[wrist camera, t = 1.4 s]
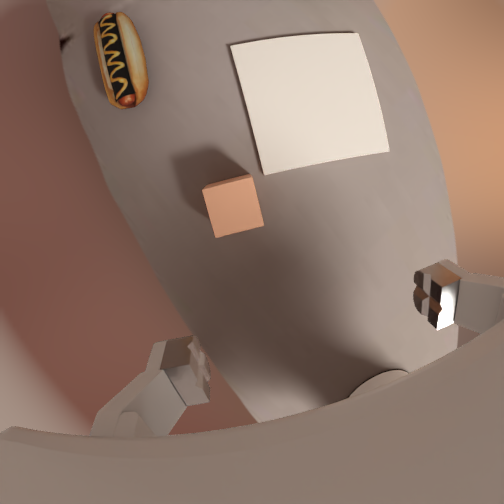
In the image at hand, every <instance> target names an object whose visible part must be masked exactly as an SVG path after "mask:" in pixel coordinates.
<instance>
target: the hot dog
mask: <svg viewBox="0 0 504 504" xmlns="http://www.w3.org/2000/svg"><path fill="white" fill-rule="evenodd" d="M94 40H95V45H96V51H97V56H98V60H99V65H100V70H101V74H102V78H103V83H104V87H105V90H106V93H107V96H108V99H109V102H110V103H111V104H112V105H114V106H116V107H118V108H120V109H126V108H132V107H135V106H137V105H138V104H139V103H140V102H142V101H143V100H144V98H145V96H146V93H147V89H148V82H149V81H148V74H147V67H146V60H145V56H144V52H143V48H142V45H141V41H140V38H139V36H138V33H137V31H136V29H135V26H134V24H133V22H132V21H131V20H130V18H129V17H127V16H126V15H125V14H124V13H122V12H117V13H116V14H114V13H106V14H104V15H103V16H102V18H101V19H100V21H99V22H97V23H96V24H95V26H94Z"/></svg>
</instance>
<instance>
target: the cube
mask: <svg viewBox="0 0 504 504" xmlns="http://www.w3.org/2000/svg"><path fill="white" fill-rule="evenodd" d="M202 192H203V196H204V199H205V203H206V206H207V210H208V213H209V217H210V220H211V224H212V227H213V231H214V234H215V238H218V237H222V236H225V235H229V234H233V233H237V232H241V231H245V230H249V229H253V228H257V227H261V226H264V223H263V218H262V214H261V210H260V206H259V202H258V198H257V194H256V190H255V186H254V182H253V178H252V176H251V175H250V174H247V175H243V176H239V177H235V178H231V179H227V180H224V181H220V182H216V183H212V184H209V185H206V186H205V187H204V188H203V189H202Z"/></svg>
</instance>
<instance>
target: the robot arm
mask: <svg viewBox="0 0 504 504" xmlns="http://www.w3.org/2000/svg"><path fill="white" fill-rule="evenodd" d="M414 283H415V284H416V285H417V286H416V288H415V290H414V292H413V300H414V304H415V307H416V309H417V310H418V312H419V313H420V314H422V315H425V316H428V322H429V323H430V324H432V325H433V326H434V327H435V328H436V329H437V330H438V329H440V328H443V327H445V326H447V325H449V324H451V323H453V322H454V323H455V324H457V325H460V326H462V327H465V328H468V329H470V330H473V331H476V332H478V333H480V334H481V335H479V336H478V337H476V338H474V339H473V340H471V341H470V342H468V343H466V344H465V345H463V346H461V347H459V348H458V349H456V350H454V351H452V352H450V353H449V354H447V355H445V356H443V357H441V358H439V359H437V360H435V361H434V362H432V363H430V364H428V365H426V366H424V367H422V368H419V369H417V370H415V371H413V372H411V373H407V372H405V371H402V370H393V371H388V372H384V373H382V374H379V375H377V376H375V377H373V378H371V379H369V380H368V381H366V382H365V383H363V384H362V385H361V386H359V387H358V388H357V389H356V390H355V391H354V392H353V393H352V394H351V395H350V397H349V398H347V399H344V400H341V401H338V402H335V403H332V404H329V405H326V406H323V407H319V408H316V409H313V410H309V411H306V412H302V413H298V414H295V415H291V416H287V417H283V418H279V419H274V420H270V421H265V422H261V423H256V424H251V425H246V426H241V427H234V428H228V429H223V430H215V431H208V432H200V433H191V434H180V435H168V434H169V432H170V431H171V429H172V428H173V426H174V425H175V423H176V422H177V420H178V419H179V418H180V416H181V415H182V413H183V412H184V410H185V409H186V406H189V405H196V404H202V403H207V402H209V401H210V387H209V385H208V383H207V382H208V381H209V380H210V367H209V363H208V360H207V357H206V355H205V354H204V353H203V352H201V351H200V346H201V344H200V342H199V340H198V338H197V336H195V335H192V336H187V337H182V338H176V339H171V340H165V341H160V342H156V343H154V344H153V348H152V351H151V354H150V357H149V361H148V364H147V367H146V371H145V372H142V373H140V374H139V375H138V376H137V377H136V378H135V379H134V380H133V381H131V383H129V384H128V385H127V386H126V387H125V388H124V389H123V390H122V391H120V392H119V393H118V394H117V395H116V396H115V397H114V398H113V399H112V400H110V401H109V402H108V403H107V404H106V405H105V406H104V407H103V408H102V409H100V410H99V411H98V413H97V416H96V418H95V421H94V424H93V426H92V429H91V432H90V435H89V436H82V435H71V434H61V433H53V432H45V431H38V430H33V429H27V428H23V427H16V426H14V427H9V428H8V429H6V430H4V431H2V432H1V433H0V504H504V278H502V277H496V276H490V275H483V274H477V273H473V274H470V273H469V272H467V271H466V270H464V269H463V268H461V267H459V266H458V265H456V264H455V263H453V262H451V261H450V260H448V259H444V260H442V261H439V262H437V263H435V264H433V265H430V266H428V267H426V268H423V269H421V270H418V271H416V272H415V274H414ZM167 435H168V436H167Z"/></svg>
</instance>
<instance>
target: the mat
mask: <svg viewBox="0 0 504 504" xmlns="http://www.w3.org/2000/svg"><path fill="white" fill-rule="evenodd" d="M230 48H231V52H232V55H233V59H234V62H235V66H236V70H237V73H238V77H239V80H240V84H241V88H242V91H243V95H244V99H245V103H246V107H247V110H248V114H249V118H250V122H251V126H252V130H253V133H254V137H255V141H256V145H257V149H258V153H259V157H260V161H261V165H262V170H263V174H264V175H268V174H272V173H276V172H281V171H285V170H290V169H295V168H299V167H304V166H309V165H314V164H319V163H324V162H329V161H334V160H340V159H345V158H351V157H357V156H363V155H369V154H375V153H382V152H388V151H389V145H388V140H387V135H386V130H385V125H384V121H383V116H382V112H381V108H380V103H379V99H378V96H377V92H376V88H375V84H374V81H373V77H372V74H371V71H370V67H369V64H368V61H367V58H366V55H365V52H364V49H363V46H362V43H361V40H360V37H359V34H358V33H332V34H312V35H299V36H289V37H281V38H273V39H266V40H260V41H254V42H248V43H243V44H238V45H233V46H230Z"/></svg>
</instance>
